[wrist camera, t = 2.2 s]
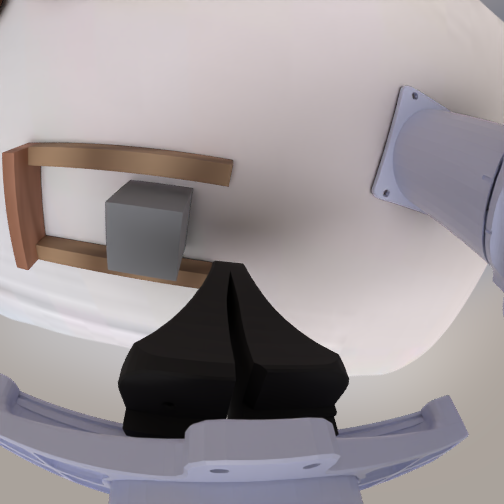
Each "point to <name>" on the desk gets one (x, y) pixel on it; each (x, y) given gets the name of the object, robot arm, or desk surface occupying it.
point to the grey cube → (147, 229)
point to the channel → (101, 158)
